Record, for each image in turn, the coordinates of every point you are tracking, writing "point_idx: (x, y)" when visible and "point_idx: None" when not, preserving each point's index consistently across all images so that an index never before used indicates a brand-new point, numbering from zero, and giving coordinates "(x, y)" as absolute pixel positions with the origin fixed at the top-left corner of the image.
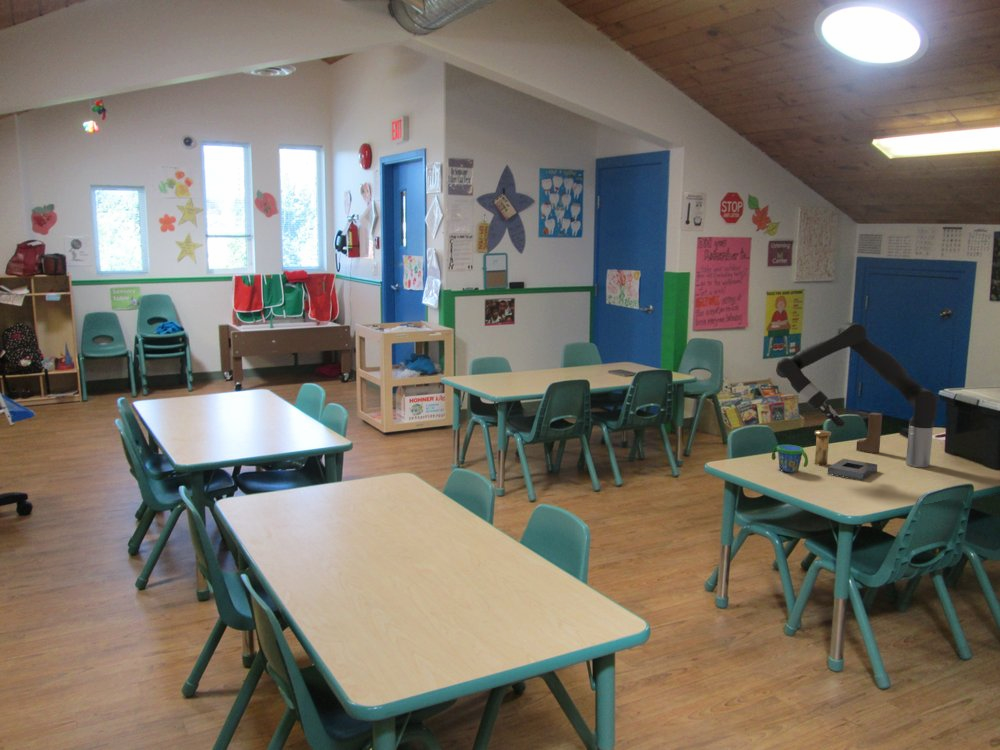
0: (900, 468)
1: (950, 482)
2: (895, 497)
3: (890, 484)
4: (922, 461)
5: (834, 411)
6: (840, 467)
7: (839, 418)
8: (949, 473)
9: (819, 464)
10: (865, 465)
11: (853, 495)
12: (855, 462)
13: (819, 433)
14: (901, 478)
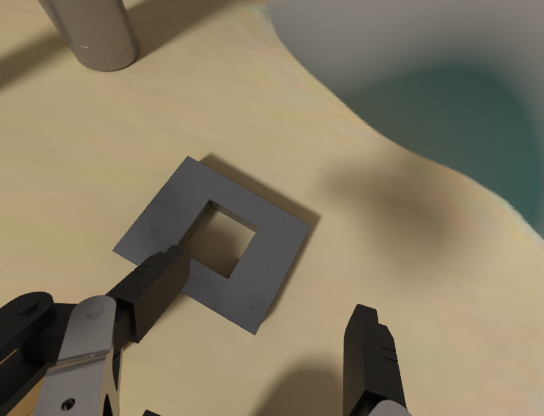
0: (148, 98)
1: (267, 41)
2: (431, 187)
3: (321, 167)
4: (133, 32)
5: (102, 386)
6: (250, 286)
7: (149, 293)
8: (187, 15)
9: (124, 347)
10: (206, 194)
11: (459, 288)
12: (168, 218)
13: (32, 410)
14: (255, 126)
